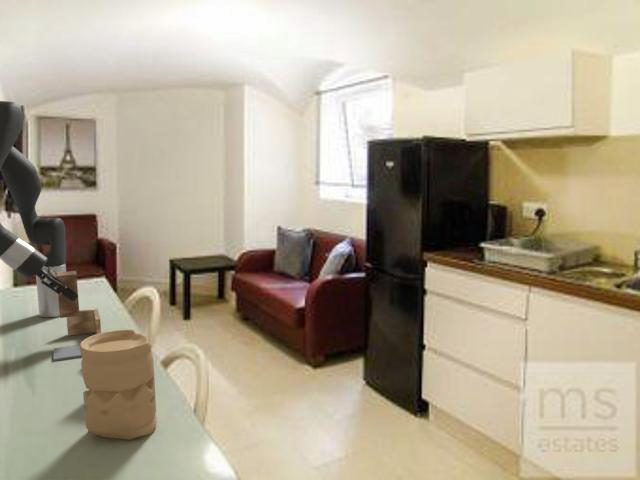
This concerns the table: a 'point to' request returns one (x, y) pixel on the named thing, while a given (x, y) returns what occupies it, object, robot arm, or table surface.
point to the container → (119, 384)
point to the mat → (67, 353)
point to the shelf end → (84, 322)
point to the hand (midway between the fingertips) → (75, 295)
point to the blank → (65, 304)
